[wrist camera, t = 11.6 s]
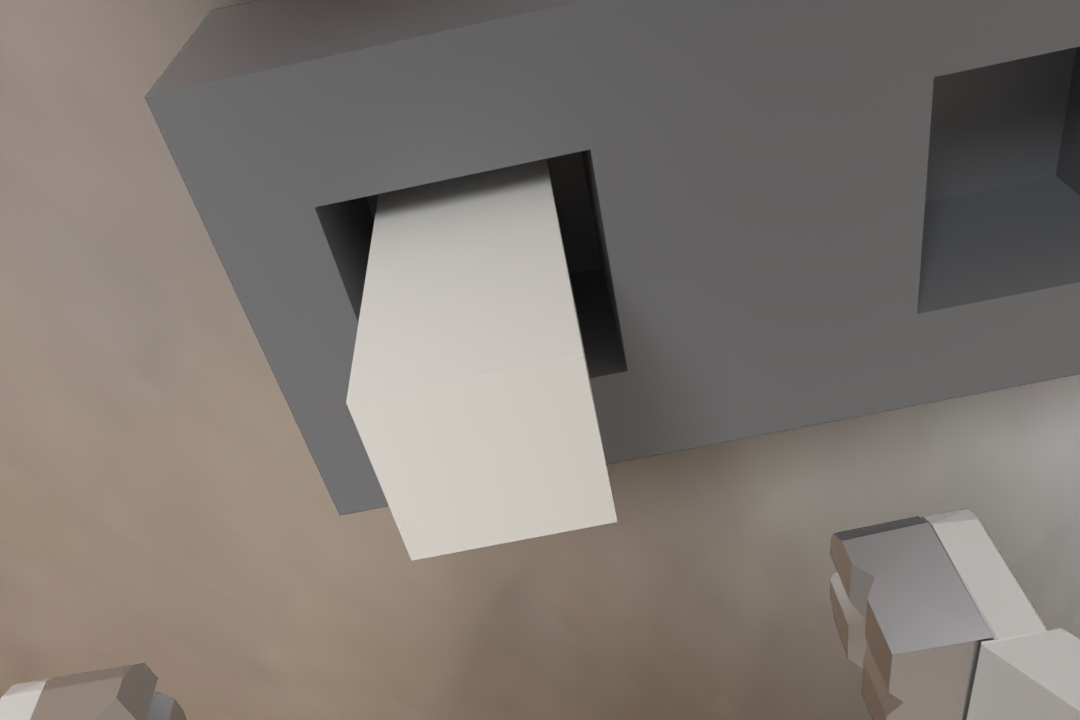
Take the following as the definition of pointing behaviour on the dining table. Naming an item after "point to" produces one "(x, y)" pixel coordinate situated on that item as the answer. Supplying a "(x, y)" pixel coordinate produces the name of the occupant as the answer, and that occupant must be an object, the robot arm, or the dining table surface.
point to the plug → (476, 367)
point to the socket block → (662, 193)
